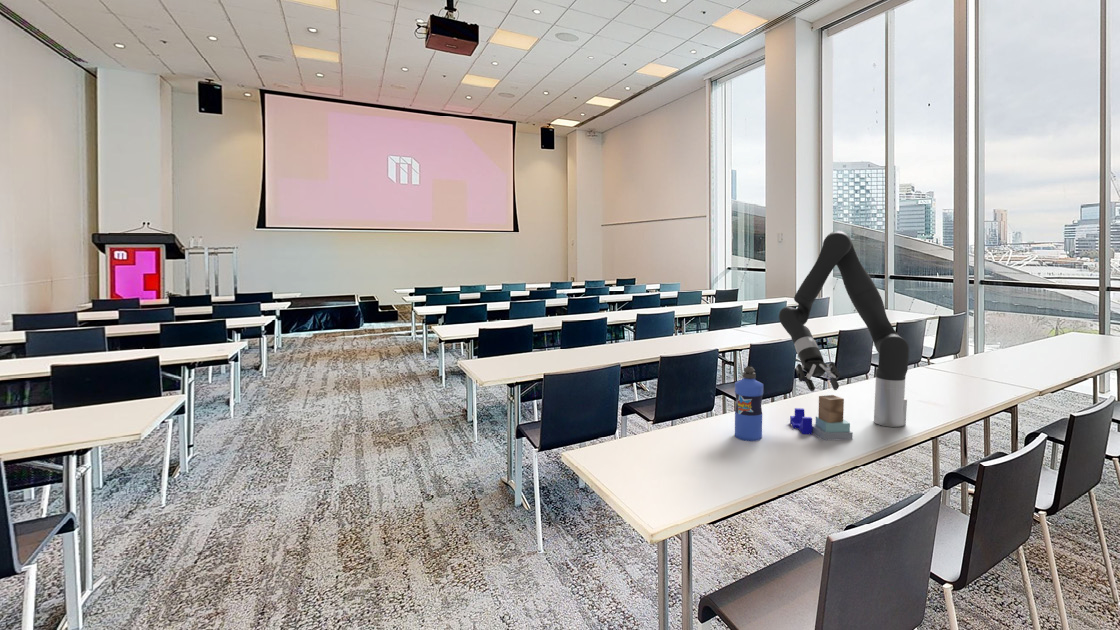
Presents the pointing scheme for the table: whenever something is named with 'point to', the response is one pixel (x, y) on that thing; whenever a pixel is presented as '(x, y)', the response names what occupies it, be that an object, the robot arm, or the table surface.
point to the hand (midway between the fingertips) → (824, 389)
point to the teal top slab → (833, 426)
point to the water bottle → (748, 407)
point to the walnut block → (831, 408)
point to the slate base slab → (830, 434)
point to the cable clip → (801, 421)
